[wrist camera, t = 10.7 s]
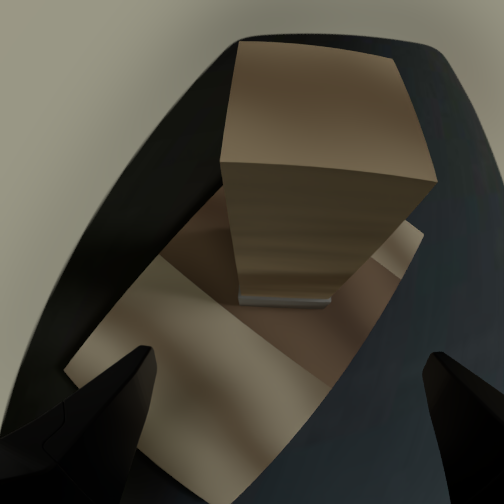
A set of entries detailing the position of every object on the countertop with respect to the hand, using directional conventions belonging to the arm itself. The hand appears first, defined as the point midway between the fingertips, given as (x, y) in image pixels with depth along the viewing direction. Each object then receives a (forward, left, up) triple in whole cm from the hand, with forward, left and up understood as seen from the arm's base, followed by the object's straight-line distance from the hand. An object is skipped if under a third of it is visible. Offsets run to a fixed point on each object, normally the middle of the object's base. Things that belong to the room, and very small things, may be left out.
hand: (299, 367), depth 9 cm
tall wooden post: (+5, +3, -8) cm, 10 cm away
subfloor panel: (+2, +3, -10) cm, 10 cm away
